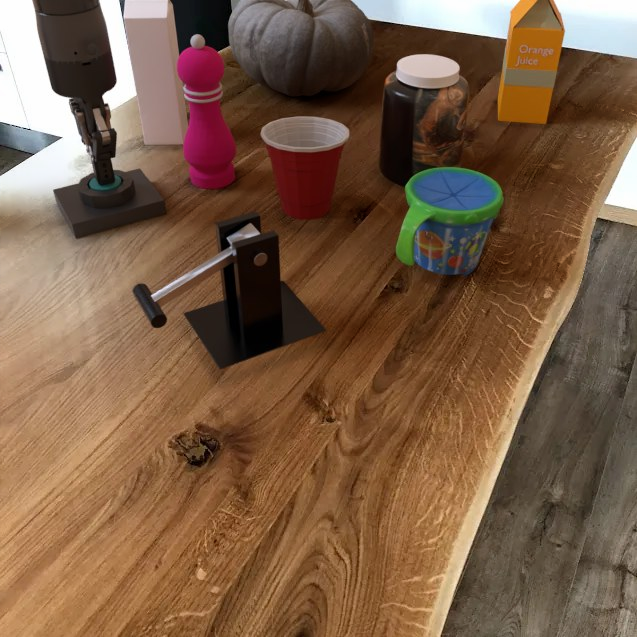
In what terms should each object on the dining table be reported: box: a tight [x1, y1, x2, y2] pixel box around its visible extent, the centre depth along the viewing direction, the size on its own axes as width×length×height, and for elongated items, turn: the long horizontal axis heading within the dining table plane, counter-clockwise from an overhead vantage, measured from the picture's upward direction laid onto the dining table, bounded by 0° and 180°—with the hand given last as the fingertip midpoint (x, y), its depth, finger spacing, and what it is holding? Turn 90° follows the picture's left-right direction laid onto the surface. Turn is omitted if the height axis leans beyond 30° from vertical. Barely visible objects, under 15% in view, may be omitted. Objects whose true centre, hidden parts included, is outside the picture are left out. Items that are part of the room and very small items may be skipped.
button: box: [89, 175, 122, 191], centre depth 95 cm, size 4×4×2 cm
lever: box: [131, 223, 260, 329], centre depth 70 cm, size 13×6×2 cm, turn 119°
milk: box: [123, 0, 189, 146], centre depth 107 cm, size 6×6×22 cm
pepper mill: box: [177, 33, 237, 190], centre depth 97 cm, size 7×7×20 cm
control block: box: [52, 167, 168, 240], centre depth 96 cm, size 12×10×4 cm
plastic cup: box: [260, 115, 350, 221], centre depth 92 cm, size 11×11×12 cm
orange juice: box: [497, 0, 566, 125], centre depth 114 cm, size 8×9×20 cm
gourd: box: [227, 0, 375, 97], centre depth 126 cm, size 25×25×17 cm
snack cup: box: [395, 167, 505, 277], centre depth 84 cm, size 16×10×10 cm
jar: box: [378, 53, 470, 187], centre depth 100 cm, size 12×12×15 cm
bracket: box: [183, 210, 327, 370], centre depth 74 cm, size 12×10×13 cm
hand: (106, 182), depth 94 cm, fingers closed
